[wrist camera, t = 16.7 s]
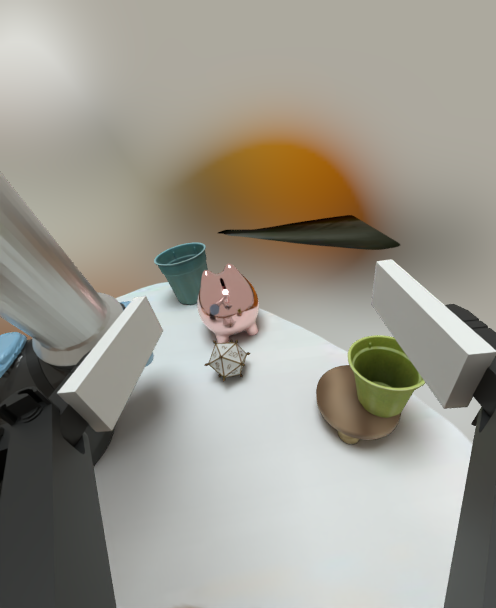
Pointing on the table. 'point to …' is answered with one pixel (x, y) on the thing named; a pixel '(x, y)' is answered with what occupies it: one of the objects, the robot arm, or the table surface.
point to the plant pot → (383, 375)
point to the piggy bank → (227, 303)
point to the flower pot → (184, 269)
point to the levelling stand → (349, 408)
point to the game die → (227, 359)
